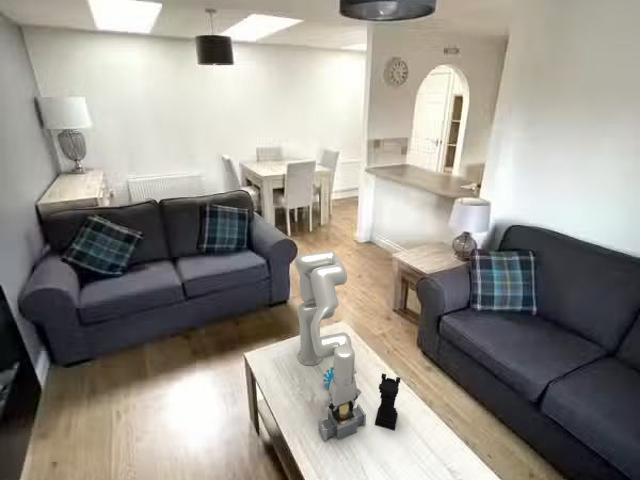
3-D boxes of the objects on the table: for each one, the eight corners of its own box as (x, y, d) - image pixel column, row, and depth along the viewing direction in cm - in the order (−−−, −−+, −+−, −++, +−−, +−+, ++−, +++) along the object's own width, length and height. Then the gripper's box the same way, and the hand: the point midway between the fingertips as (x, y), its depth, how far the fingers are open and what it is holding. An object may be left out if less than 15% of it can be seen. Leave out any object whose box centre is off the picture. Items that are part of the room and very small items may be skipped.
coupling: (333, 413, 141) (334, 399, 138) (345, 409, 142) (345, 395, 140) (339, 423, 136) (340, 409, 134) (351, 418, 138) (351, 404, 136)
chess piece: (397, 414, 147) (401, 377, 139) (394, 430, 141) (399, 392, 133) (378, 409, 150) (381, 372, 142) (374, 424, 143) (377, 387, 135)
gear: (326, 392, 156) (322, 368, 159) (321, 393, 161) (318, 369, 164) (349, 388, 160) (344, 365, 164) (343, 388, 165) (339, 366, 169)
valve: (316, 427, 142) (316, 412, 139) (356, 411, 149) (357, 397, 146) (326, 445, 135) (326, 430, 132) (367, 428, 142) (368, 413, 138)
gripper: (359, 363, 138) (357, 397, 145) (317, 376, 131) (318, 412, 138) (369, 376, 131) (366, 412, 139) (326, 391, 125) (326, 428, 132)
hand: (342, 411), depth 138 cm, fingers open, 6 cm apart
